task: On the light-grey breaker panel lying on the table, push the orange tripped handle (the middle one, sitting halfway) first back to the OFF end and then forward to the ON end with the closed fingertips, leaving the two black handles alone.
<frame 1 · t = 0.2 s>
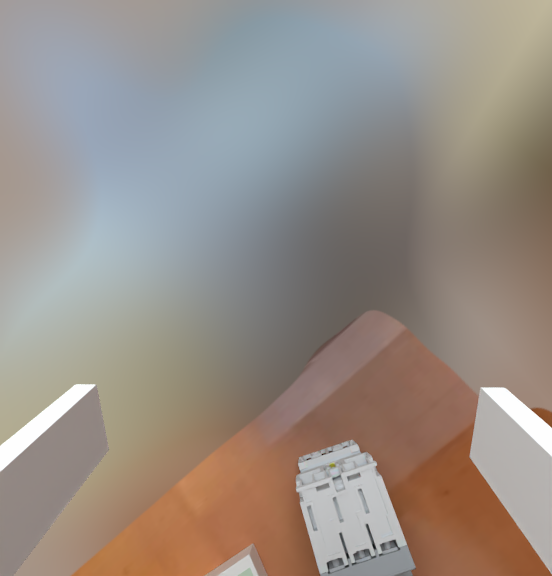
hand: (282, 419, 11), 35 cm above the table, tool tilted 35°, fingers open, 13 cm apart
circuit breaker: (345, 508, 39), on the table
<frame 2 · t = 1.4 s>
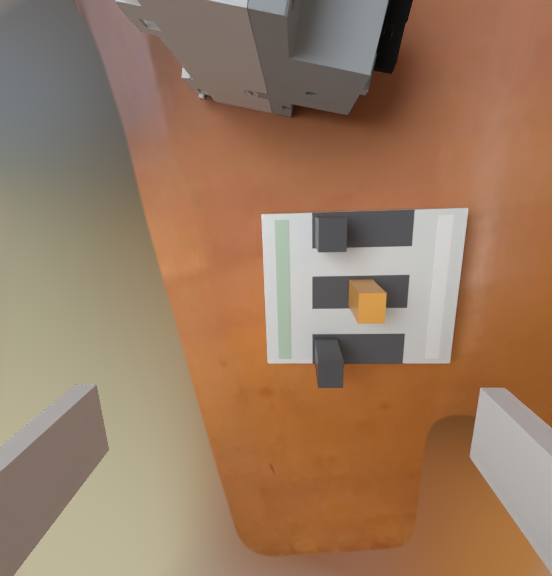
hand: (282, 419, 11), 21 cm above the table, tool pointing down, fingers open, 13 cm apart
panel: (353, 284, 31), on the table
breaker a: (329, 232, 24), point 5 cm above the table, slide at 3.0 cm
breaker tripped: (365, 300, 25), point 5 cm above the table, slide at 0.0 cm
circuit breaker: (288, 67, 26), on the table
breaker c: (327, 361, 27), point 5 cm above the table, slide at 3.0 cm
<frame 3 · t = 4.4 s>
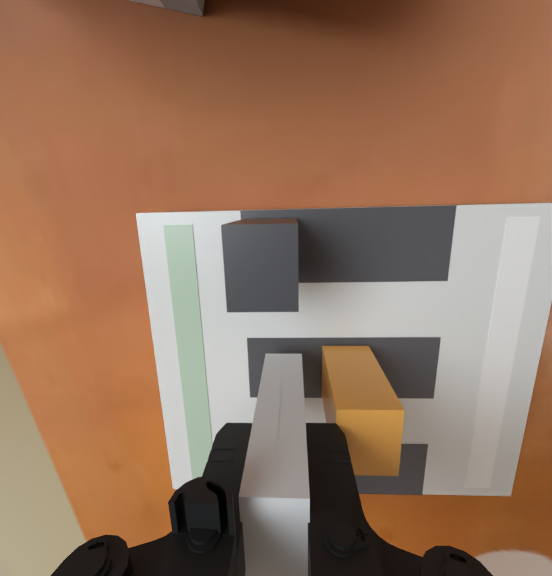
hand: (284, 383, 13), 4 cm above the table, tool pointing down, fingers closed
panel: (332, 340, 17), on the table
breaker a: (267, 256, 10), point 5 cm above the table, slide at 3.0 cm
breaker tripped: (354, 400, 12), point 5 cm above the table, slide at -0.1 cm, touching gripper
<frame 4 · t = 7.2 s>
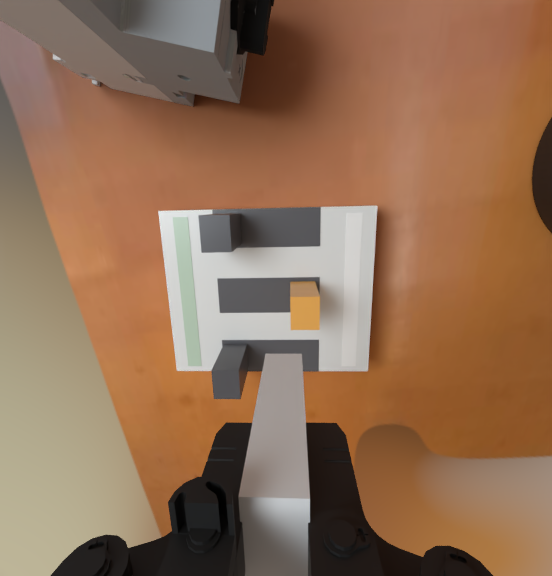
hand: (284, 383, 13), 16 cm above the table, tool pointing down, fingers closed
panel: (270, 286, 29), on the table
breaker a: (222, 231, 22), point 5 cm above the table, slide at 3.0 cm
breaker tripped: (303, 303, 23), point 5 cm above the table, slide at -2.8 cm
circuit breaker: (188, 52, 24), on the table
breaker c: (231, 369, 25), point 5 cm above the table, slide at 3.0 cm
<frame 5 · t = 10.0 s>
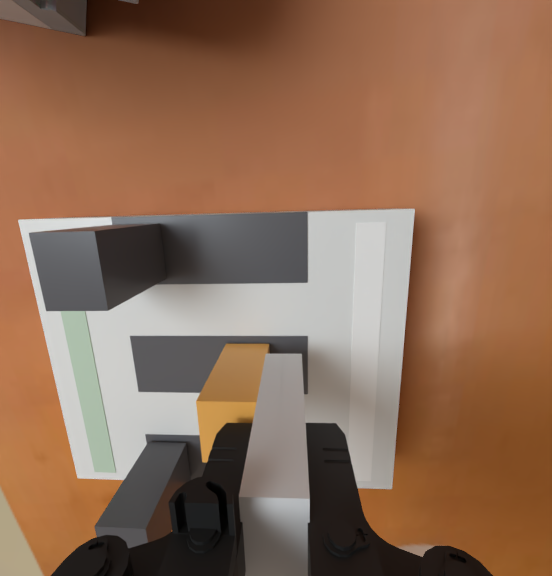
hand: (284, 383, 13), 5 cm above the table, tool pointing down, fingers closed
panel: (232, 339, 18), on the table
breaker a: (111, 260, 11), point 5 cm above the table, slide at 3.0 cm
breaker tripped: (240, 394, 12), point 5 cm above the table, slide at -1.4 cm, touching gripper
breaker c: (150, 499, 14), point 5 cm above the table, slide at 3.0 cm
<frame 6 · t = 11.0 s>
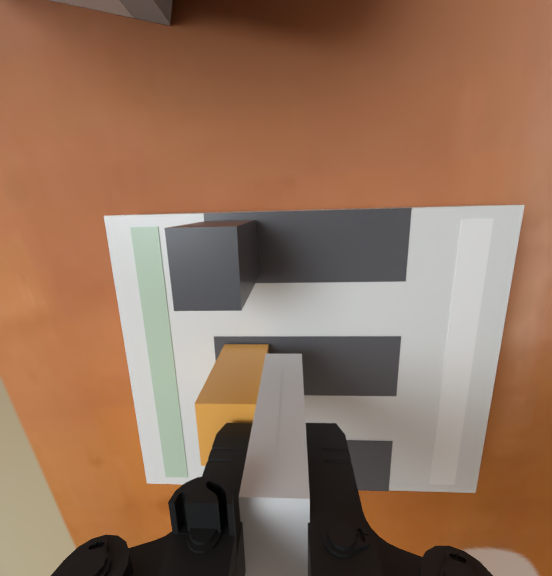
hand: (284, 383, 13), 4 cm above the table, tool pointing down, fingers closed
panel: (303, 339, 17), on the table
breaker a: (221, 257, 11), point 5 cm above the table, slide at 3.0 cm
breaker tripped: (239, 396, 12), point 5 cm above the table, slide at 2.7 cm, touching gripper
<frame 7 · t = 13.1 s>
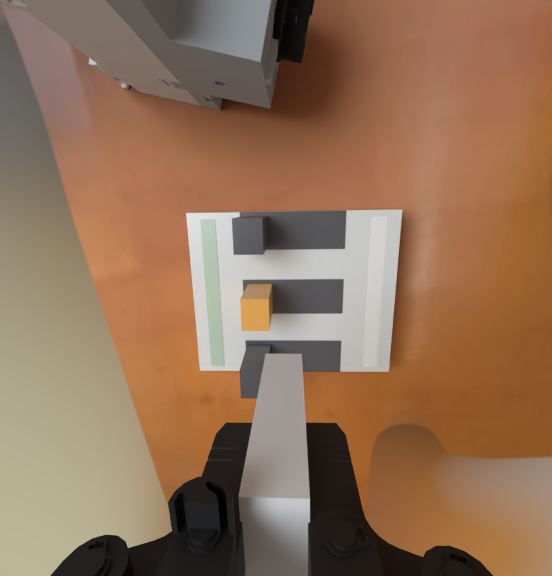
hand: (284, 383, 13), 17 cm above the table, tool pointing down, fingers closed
panel: (292, 287, 29), on the table
breaker a: (251, 233, 23), point 5 cm above the table, slide at 3.0 cm
breaker tripped: (258, 305, 24), point 5 cm above the table, slide at 2.7 cm
circuit breaker: (216, 57, 25), on the table
breaker c: (256, 369, 26), point 5 cm above the table, slide at 3.0 cm
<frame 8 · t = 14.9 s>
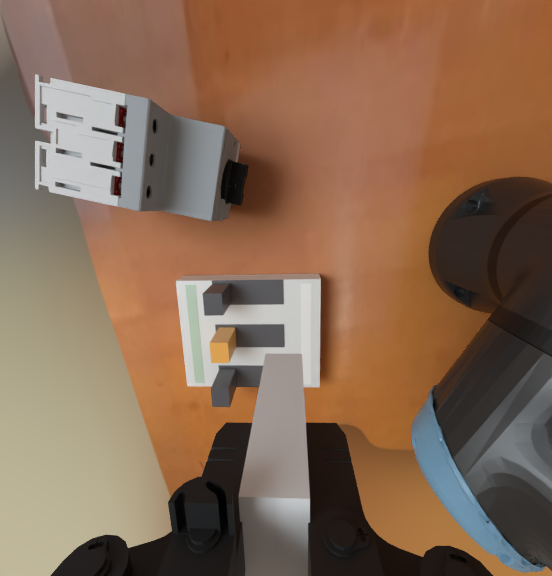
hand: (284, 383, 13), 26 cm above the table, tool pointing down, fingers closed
panel: (253, 326, 41), on the table
breaker a: (217, 298, 34), point 5 cm above the table, slide at 3.0 cm
breaker tripped: (223, 344, 36), point 5 cm above the table, slide at 2.7 cm
circuit breaker: (195, 175, 37), on the table
breaker c: (224, 386, 37), point 5 cm above the table, slide at 3.0 cm
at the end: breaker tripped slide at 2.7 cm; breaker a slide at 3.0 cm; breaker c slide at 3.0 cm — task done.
